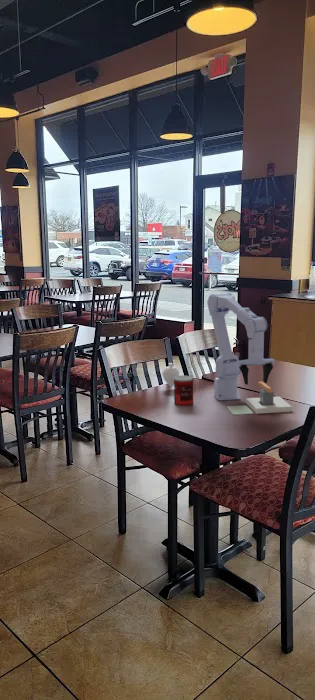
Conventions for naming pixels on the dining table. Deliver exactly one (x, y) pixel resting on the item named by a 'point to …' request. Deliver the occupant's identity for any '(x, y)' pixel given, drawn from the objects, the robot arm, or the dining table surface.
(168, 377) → the spinning top
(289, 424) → the dining table surface
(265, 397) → the gray rectangular block
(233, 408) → the mat
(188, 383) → the canned food
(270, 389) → the bar
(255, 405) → the socket block
